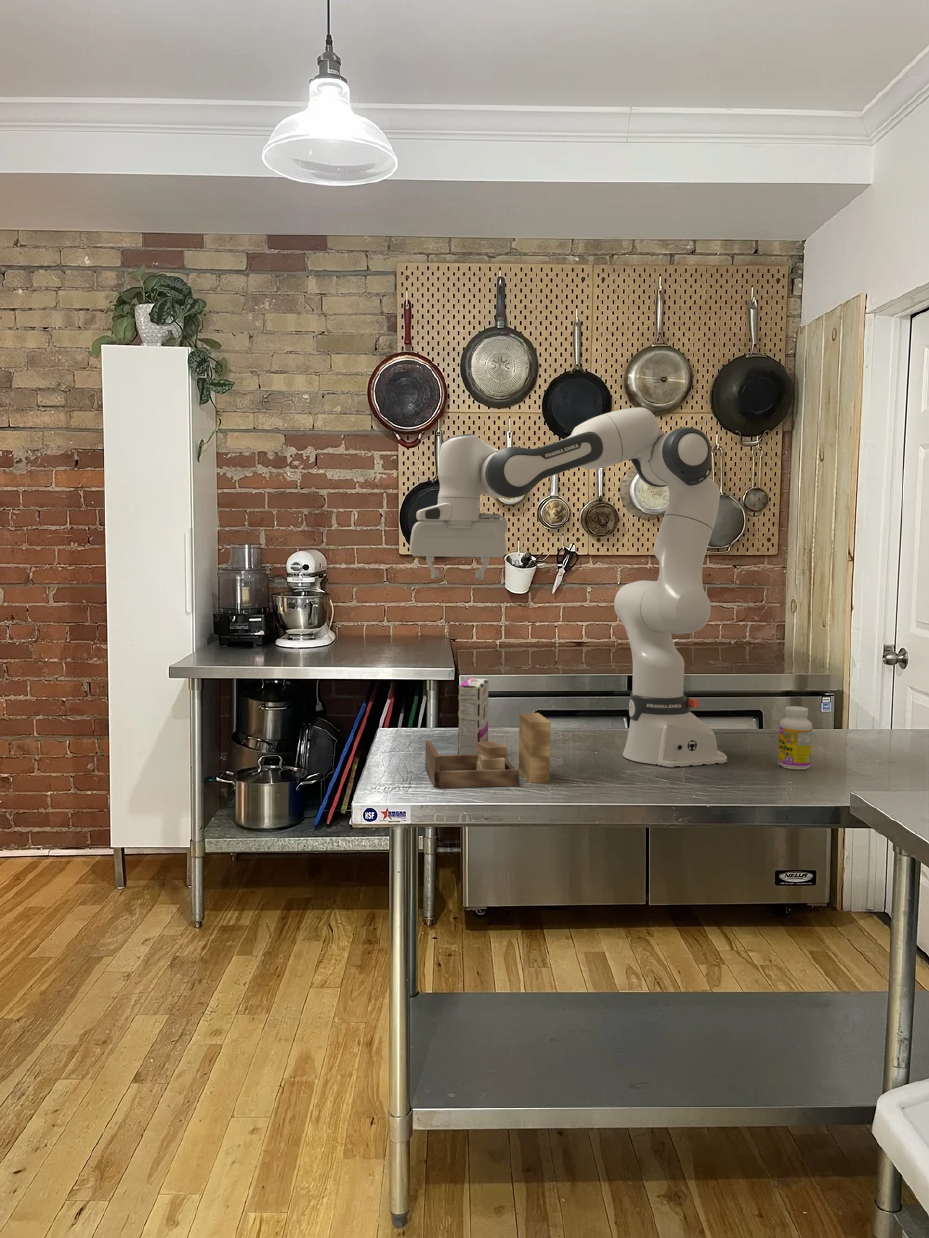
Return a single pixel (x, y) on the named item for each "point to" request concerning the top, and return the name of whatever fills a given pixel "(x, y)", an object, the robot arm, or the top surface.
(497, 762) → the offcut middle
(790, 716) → the supplement bottle
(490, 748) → the offcut top
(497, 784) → the rack
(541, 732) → the light brown wooden block
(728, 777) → the top surface
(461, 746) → the candy bar box
